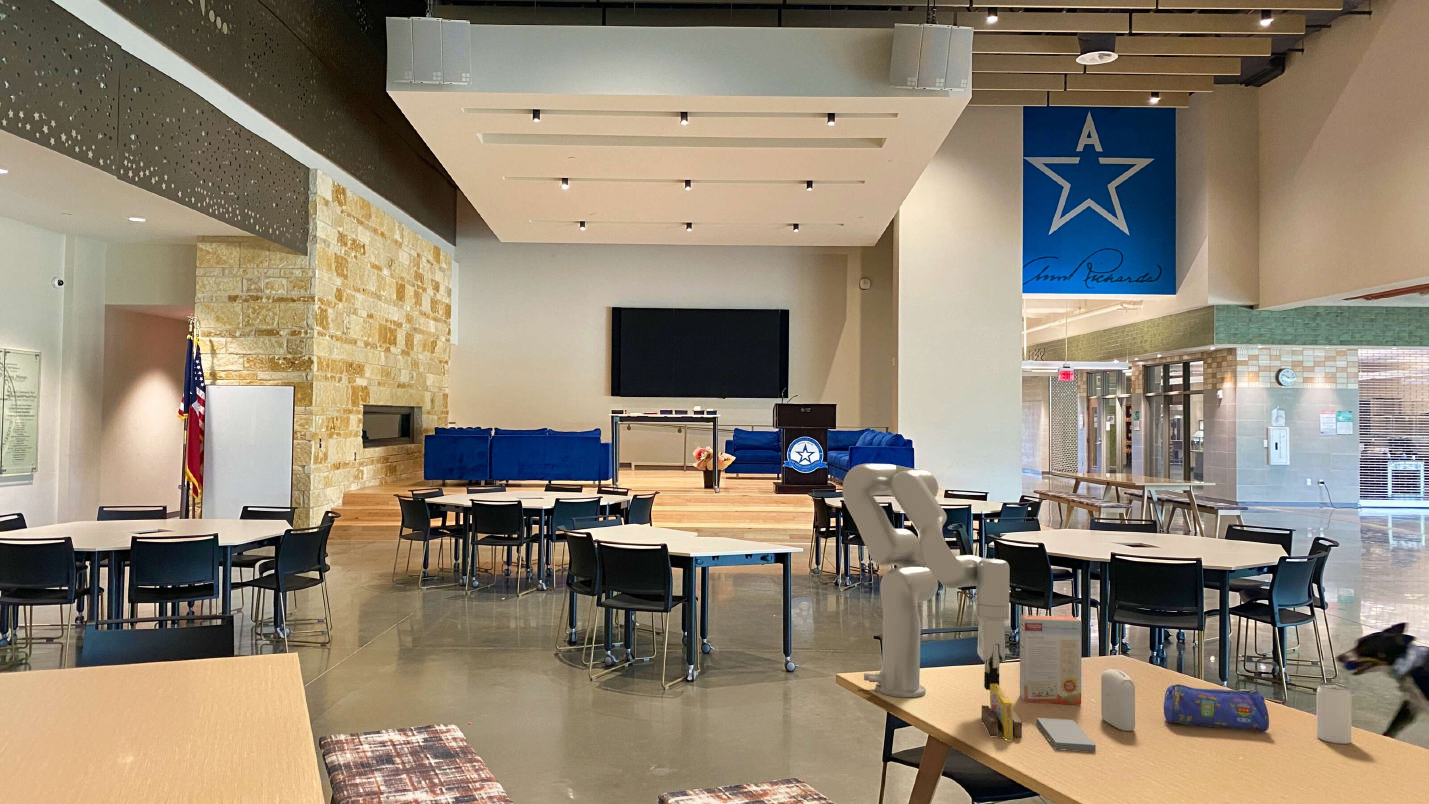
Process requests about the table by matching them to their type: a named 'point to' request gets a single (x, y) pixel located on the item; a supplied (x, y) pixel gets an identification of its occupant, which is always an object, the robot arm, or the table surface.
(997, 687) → the candy box
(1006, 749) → the table surface
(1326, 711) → the can
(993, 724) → the walnut rack
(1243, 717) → the pencil case
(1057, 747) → the grey plinth
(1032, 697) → the cracker box
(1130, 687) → the photo printer
